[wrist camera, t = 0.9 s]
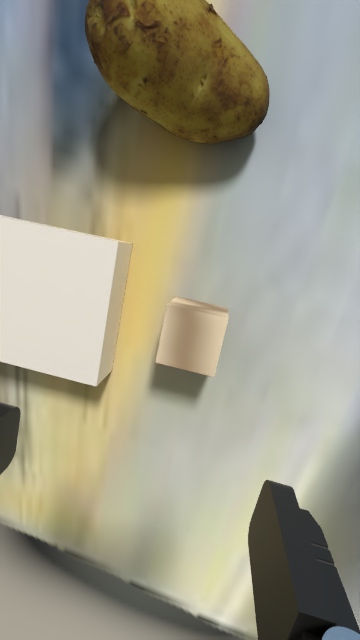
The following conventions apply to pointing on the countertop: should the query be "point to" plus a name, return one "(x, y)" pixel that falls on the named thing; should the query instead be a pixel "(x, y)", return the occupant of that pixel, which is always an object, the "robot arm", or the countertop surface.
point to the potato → (178, 66)
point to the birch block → (192, 335)
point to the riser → (60, 299)
